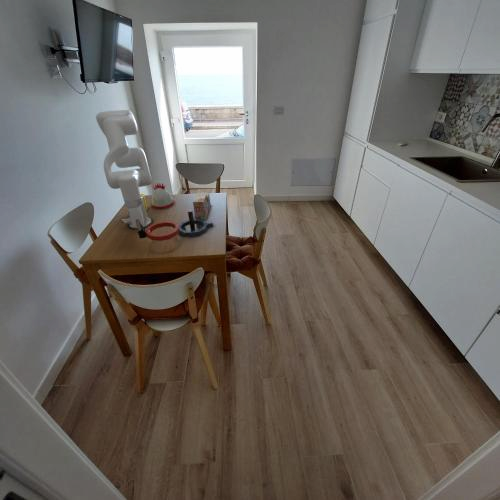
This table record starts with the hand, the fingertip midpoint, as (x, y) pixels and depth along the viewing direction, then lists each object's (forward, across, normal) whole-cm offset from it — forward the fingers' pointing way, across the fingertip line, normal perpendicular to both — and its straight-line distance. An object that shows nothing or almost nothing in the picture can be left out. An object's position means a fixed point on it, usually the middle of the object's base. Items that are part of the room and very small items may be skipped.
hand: (143, 236), depth 135 cm
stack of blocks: (+7, -29, +36) cm, 47 cm away
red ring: (0, 0, +8) cm, 8 cm away
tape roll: (+7, -49, -2) cm, 50 cm away
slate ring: (+7, -10, +28) cm, 30 cm away
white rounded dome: (+7, -52, +13) cm, 54 cm away
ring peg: (+7, -10, +26) cm, 29 cm away
